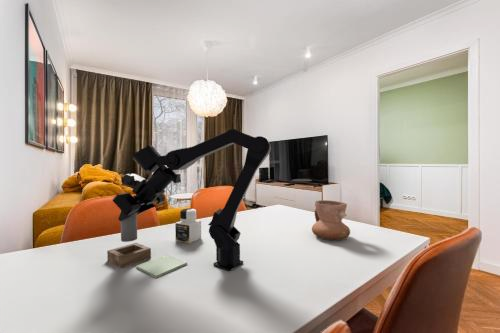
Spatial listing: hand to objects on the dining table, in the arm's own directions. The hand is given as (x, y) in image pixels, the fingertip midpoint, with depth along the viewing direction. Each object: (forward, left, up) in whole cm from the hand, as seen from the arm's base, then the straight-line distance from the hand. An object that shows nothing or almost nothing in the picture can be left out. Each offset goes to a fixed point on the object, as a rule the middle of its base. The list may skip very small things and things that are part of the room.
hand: (124, 218), depth 73 cm
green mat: (-14, -4, -13) cm, 19 cm away
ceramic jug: (-45, -59, -13) cm, 75 cm away
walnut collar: (-1, -1, -13) cm, 13 cm away
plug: (-1, -1, -7) cm, 7 cm away
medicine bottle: (-1, -24, -13) cm, 27 cm away
